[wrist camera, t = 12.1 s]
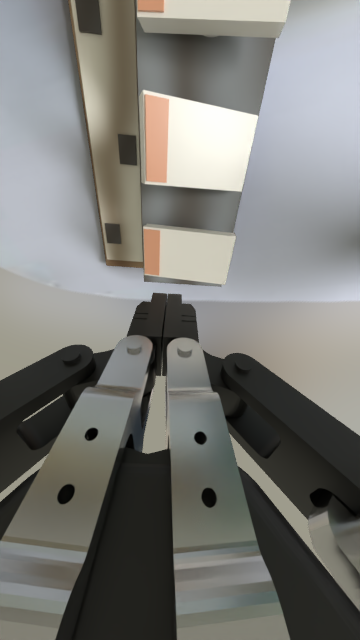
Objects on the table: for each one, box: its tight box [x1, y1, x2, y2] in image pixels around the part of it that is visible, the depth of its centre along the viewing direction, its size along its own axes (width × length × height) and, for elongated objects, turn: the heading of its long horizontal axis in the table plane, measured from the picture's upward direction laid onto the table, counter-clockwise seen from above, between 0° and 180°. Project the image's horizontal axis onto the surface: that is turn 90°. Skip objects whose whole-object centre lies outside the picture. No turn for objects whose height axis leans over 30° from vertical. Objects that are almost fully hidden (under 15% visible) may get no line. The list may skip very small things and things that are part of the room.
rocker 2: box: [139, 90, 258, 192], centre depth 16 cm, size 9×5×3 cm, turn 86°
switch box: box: [68, 0, 276, 287], centre depth 20 cm, size 16×26×6 cm, turn 176°
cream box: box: [143, 224, 236, 285], centre depth 21 cm, size 9×5×2 cm, turn 85°
